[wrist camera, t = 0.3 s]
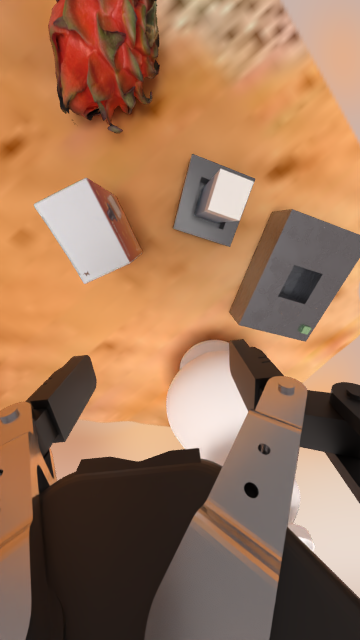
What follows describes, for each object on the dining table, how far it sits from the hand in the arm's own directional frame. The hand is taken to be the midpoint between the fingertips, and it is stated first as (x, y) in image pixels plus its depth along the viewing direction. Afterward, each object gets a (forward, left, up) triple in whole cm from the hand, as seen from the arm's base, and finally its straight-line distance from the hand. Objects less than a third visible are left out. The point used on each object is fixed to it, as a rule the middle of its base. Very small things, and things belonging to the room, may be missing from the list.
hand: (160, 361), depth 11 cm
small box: (-4, -9, -22) cm, 24 cm away
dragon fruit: (-19, -11, -22) cm, 31 cm away
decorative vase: (+15, +13, -22) cm, 30 cm away
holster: (-11, +3, -22) cm, 25 cm away
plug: (-11, +3, -21) cm, 24 cm away
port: (-5, +18, -22) cm, 29 cm away
